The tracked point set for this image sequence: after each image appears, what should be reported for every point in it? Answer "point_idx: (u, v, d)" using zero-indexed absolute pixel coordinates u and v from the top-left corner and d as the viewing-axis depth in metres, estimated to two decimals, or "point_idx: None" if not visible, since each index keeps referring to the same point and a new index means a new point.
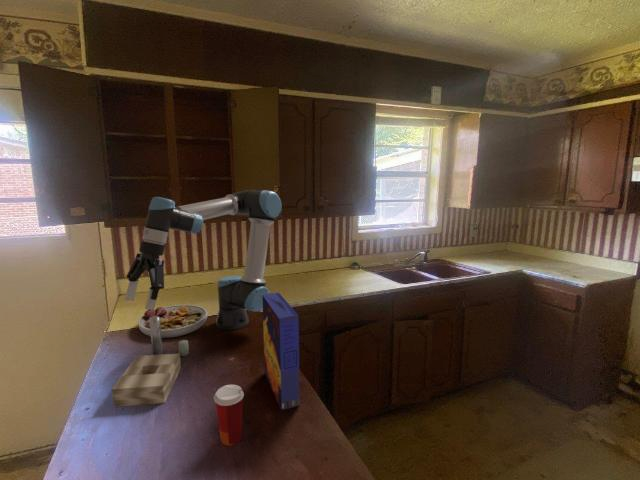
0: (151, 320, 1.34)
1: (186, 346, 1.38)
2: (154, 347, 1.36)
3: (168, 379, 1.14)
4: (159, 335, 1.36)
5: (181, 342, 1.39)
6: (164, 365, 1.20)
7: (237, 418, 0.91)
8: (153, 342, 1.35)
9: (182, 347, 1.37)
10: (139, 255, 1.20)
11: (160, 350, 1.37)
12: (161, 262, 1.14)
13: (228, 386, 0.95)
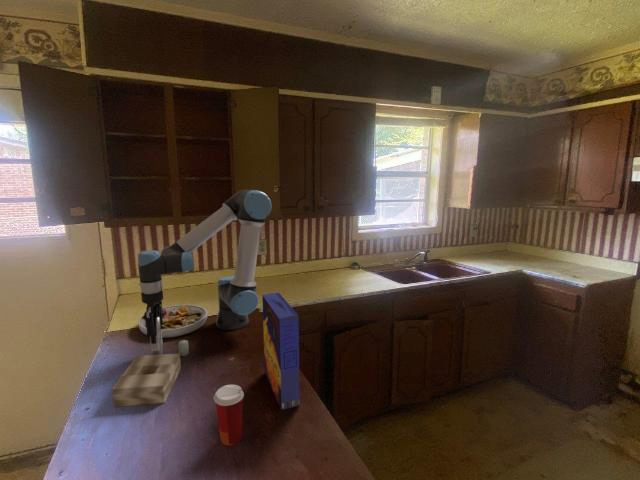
0: None
1: (186, 346, 1.38)
2: None
3: (168, 379, 1.14)
4: (159, 335, 1.36)
5: (181, 342, 1.38)
6: (164, 365, 1.20)
7: (237, 418, 0.91)
8: None
9: (182, 347, 1.37)
10: None
11: (160, 350, 1.37)
12: (149, 315, 1.29)
13: (228, 386, 0.95)
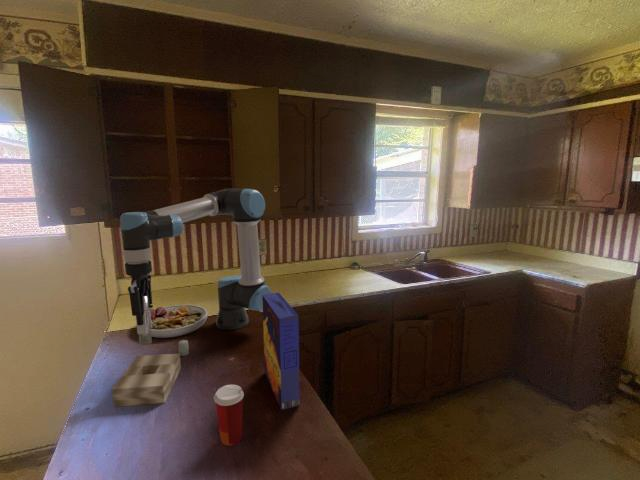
0: None
1: (186, 346, 1.38)
2: None
3: (168, 379, 1.14)
4: (147, 318, 1.13)
5: (181, 342, 1.38)
6: (164, 365, 1.20)
7: (237, 418, 0.91)
8: None
9: (182, 347, 1.37)
10: None
11: (148, 336, 1.14)
12: (134, 290, 1.06)
13: (228, 386, 0.95)
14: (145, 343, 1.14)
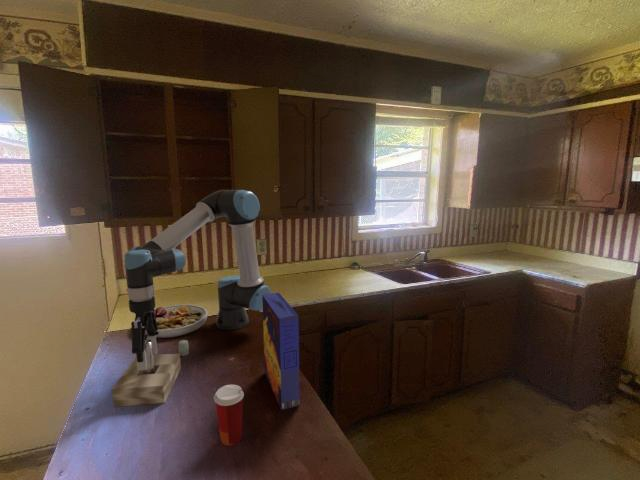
0: None
1: (186, 346, 1.38)
2: None
3: (168, 379, 1.14)
4: (151, 363, 1.16)
5: (181, 342, 1.38)
6: (164, 365, 1.20)
7: (237, 418, 0.91)
8: (144, 371, 1.16)
9: (182, 347, 1.37)
10: None
11: None
12: (137, 325, 1.07)
13: (228, 386, 0.95)
14: None
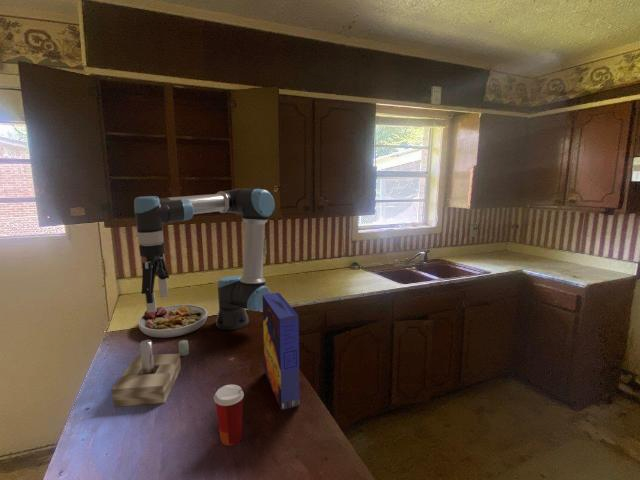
0: (142, 346, 1.14)
1: (186, 346, 1.38)
2: None
3: (168, 379, 1.14)
4: (151, 363, 1.16)
5: (181, 342, 1.39)
6: (164, 365, 1.20)
7: (237, 418, 0.91)
8: (144, 371, 1.16)
9: (182, 347, 1.37)
10: None
11: None
12: (148, 265, 1.10)
13: (228, 386, 0.95)
14: None
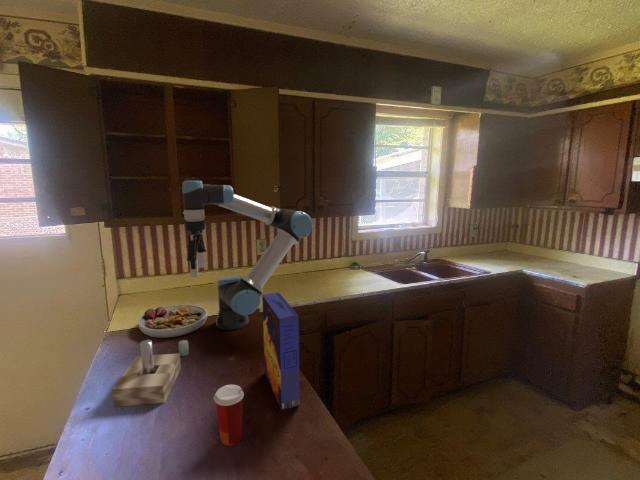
0: (142, 346, 1.14)
1: (186, 346, 1.38)
2: None
3: (168, 379, 1.14)
4: (151, 363, 1.16)
5: (181, 342, 1.39)
6: (164, 365, 1.20)
7: (237, 418, 0.91)
8: (144, 371, 1.16)
9: (182, 347, 1.37)
10: None
11: None
12: (193, 237, 1.32)
13: (228, 386, 0.95)
14: None
